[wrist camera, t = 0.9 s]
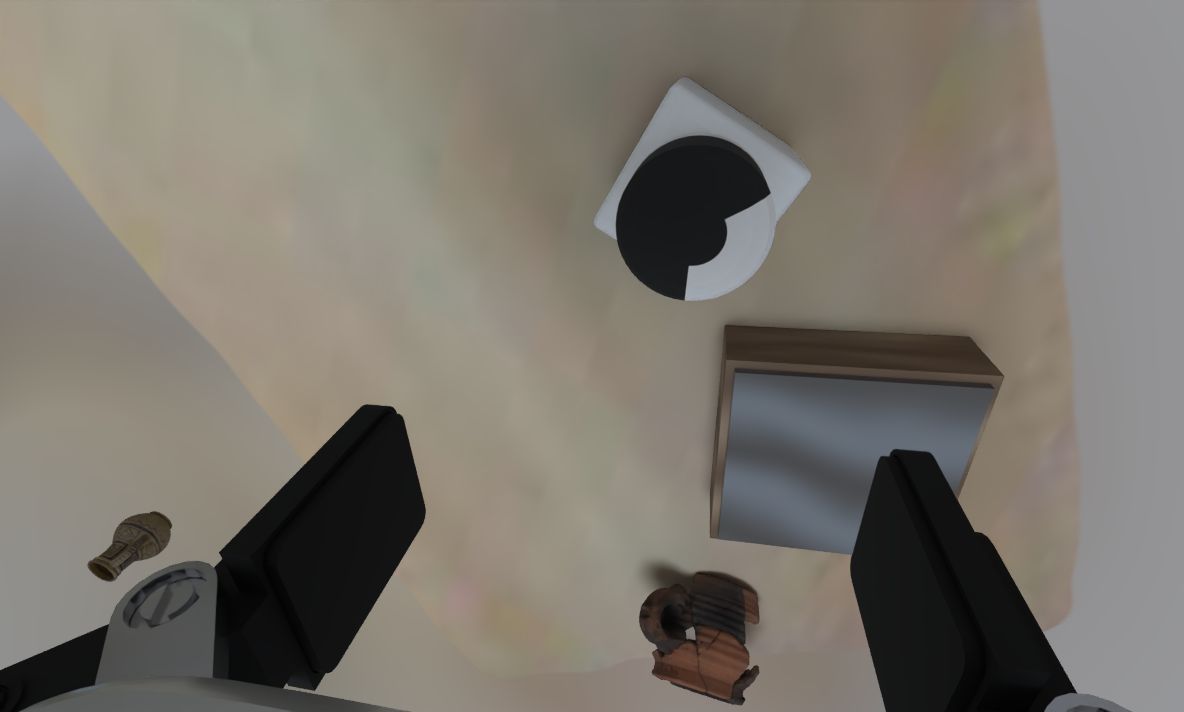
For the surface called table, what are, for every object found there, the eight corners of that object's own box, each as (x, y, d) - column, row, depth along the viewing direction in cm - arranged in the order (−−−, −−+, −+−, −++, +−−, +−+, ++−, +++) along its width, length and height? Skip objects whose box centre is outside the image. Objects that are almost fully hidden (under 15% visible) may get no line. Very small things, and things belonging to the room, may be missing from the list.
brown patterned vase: (158, 496, 209) (95, 547, 187) (194, 528, 214) (136, 581, 193) (130, 511, 217) (66, 562, 196) (164, 542, 223) (106, 594, 202)
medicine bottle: (612, 192, 32) (565, 259, 22) (682, 73, 29) (665, 87, 18) (714, 256, 33) (715, 352, 23) (794, 149, 29) (839, 203, 19)
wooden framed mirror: (724, 325, 35) (726, 364, 31) (969, 337, 32) (1008, 381, 28) (710, 492, 42) (709, 543, 37) (911, 512, 39) (936, 570, 35)
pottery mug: (792, 606, 46) (779, 719, 42) (712, 599, 53) (695, 694, 49) (686, 554, 42) (661, 674, 38) (615, 554, 49) (588, 654, 45)
